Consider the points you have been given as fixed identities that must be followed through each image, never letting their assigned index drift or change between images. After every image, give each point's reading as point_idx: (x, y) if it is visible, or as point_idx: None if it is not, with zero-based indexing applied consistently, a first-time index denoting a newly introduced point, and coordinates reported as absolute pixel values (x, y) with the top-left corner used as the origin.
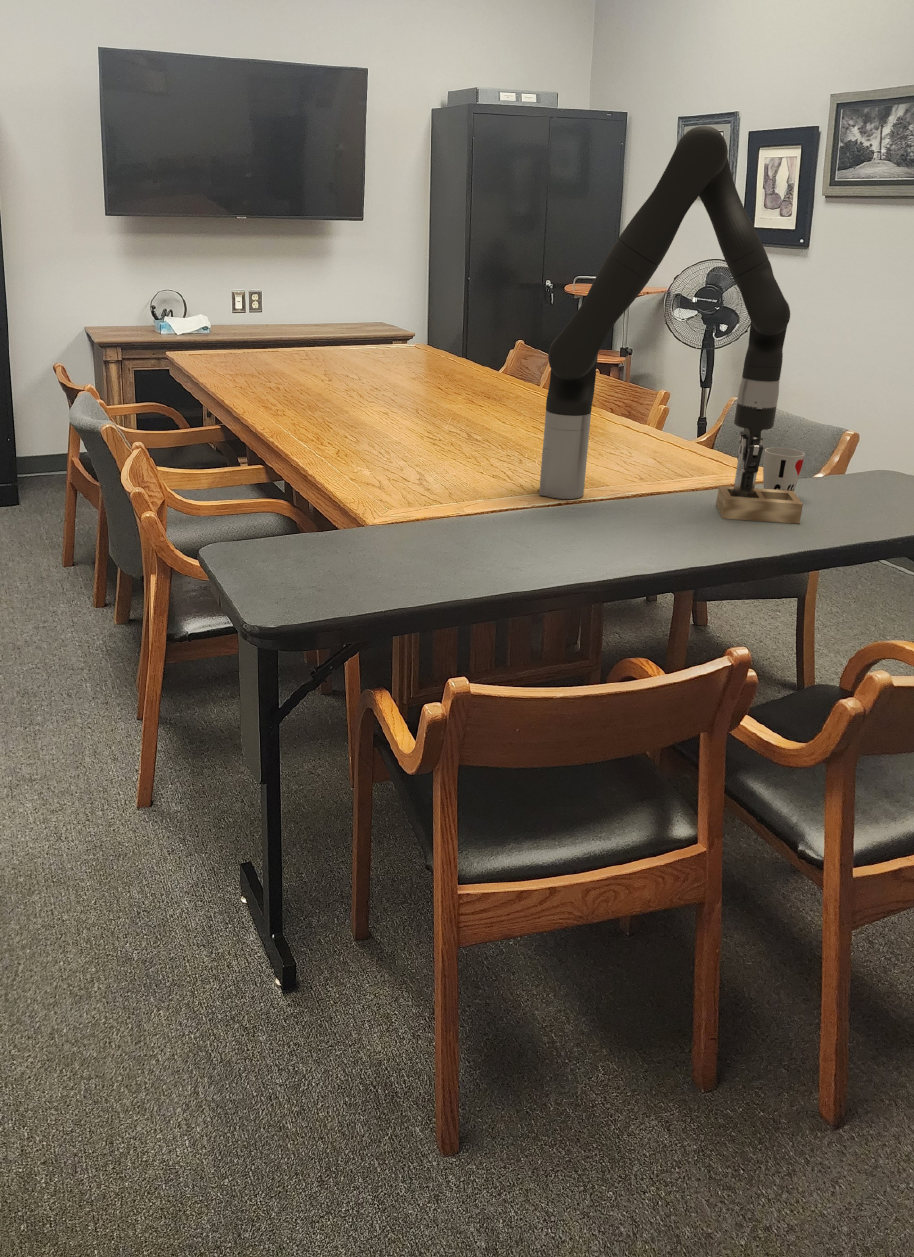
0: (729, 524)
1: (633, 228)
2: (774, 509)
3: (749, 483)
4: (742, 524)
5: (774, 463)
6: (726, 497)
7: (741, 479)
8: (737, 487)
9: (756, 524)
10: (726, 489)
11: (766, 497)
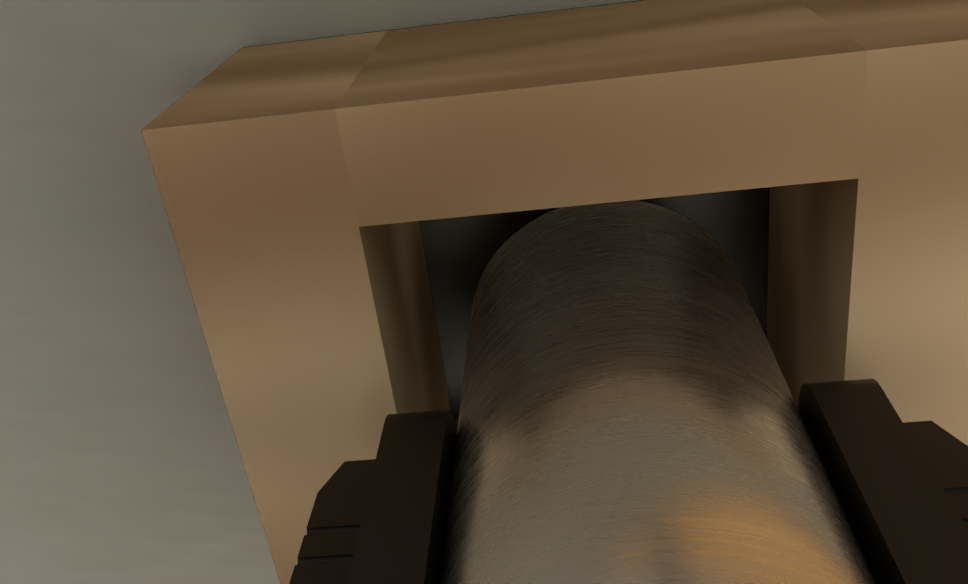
0: (22, 128)
1: None
2: None
3: None
4: (111, 270)
5: None
6: (240, 151)
7: (395, 537)
8: (497, 379)
9: (194, 402)
10: (823, 164)
11: None
